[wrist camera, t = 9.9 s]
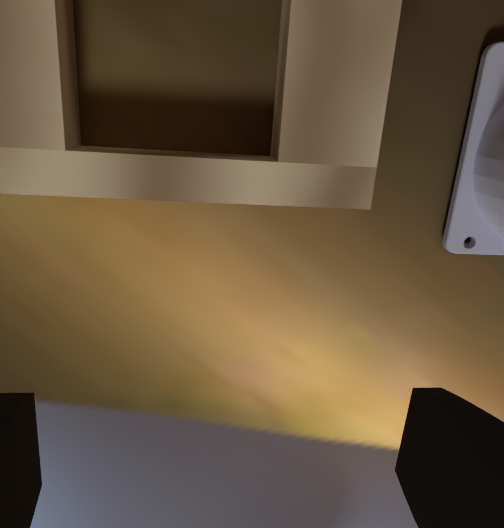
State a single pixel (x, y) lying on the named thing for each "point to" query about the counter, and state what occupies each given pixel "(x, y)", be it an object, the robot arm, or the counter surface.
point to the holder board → (204, 163)
